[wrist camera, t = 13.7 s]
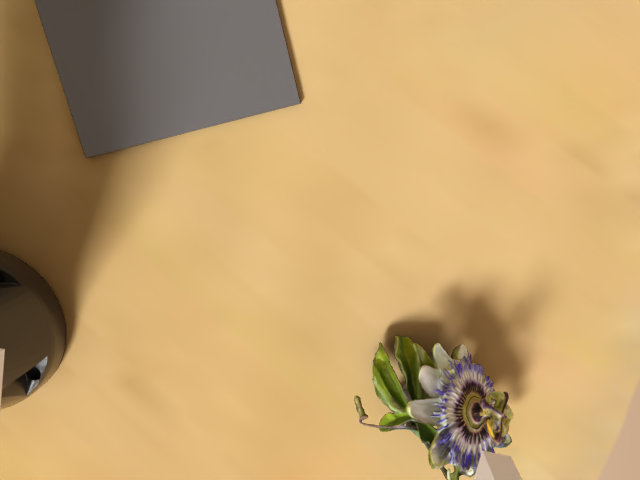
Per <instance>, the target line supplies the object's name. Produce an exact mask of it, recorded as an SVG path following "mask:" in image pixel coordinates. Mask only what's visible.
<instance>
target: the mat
mask: <svg viewBox="0 0 640 480" xmlns="http://www.w3.org/2000/svg"><path fill="white" fill-rule="evenodd" d="M35 3H36V6H37V9H38V12H39V15H40V18H41V21H42V25H43V28H44V31H45V34H46V37H47V40H48V43H49V46H50V49H51V52H52V55H53V58H54V61H55V64H56V68H57V71H58V74H59V77H60V80H61V83H62V86H63V89H64V92H65V95H66V98H67V101H68V104H69V107H70V111H71V114H72V117H73V120H74V123H75V126H76V129H77V132H78V135H79V138H80V141H81V144H82V147H83V150H84V154H85V157H86V158H89V157H93V156H97V155H101V154H105V153H109V152H113V151H117V150H121V149H125V148H128V147H132V146H136V145H140V144H144V143H148V142H152V141H156V140H160V139H164V138H168V137H172V136H175V135H179V134H183V133H187V132H191V131H195V130H199V129H203V128H207V127H211V126H215V125H218V124H222V123H226V122H230V121H234V120H238V119H242V118H246V117H250V116H254V115H258V114H262V113H265V112H269V111H273V110H277V109H281V108H285V107H289V106H293V105H297V104H301V102H300V98H299V94H298V90H297V86H296V82H295V77H294V73H293V69H292V65H291V61H290V57H289V53H288V49H287V44H286V40H285V36H284V32H283V28H282V24H281V20H280V16H279V11H278V7H277V3H276V0H35Z"/></svg>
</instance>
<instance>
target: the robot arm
mask: <svg viewBox="0 0 640 480" xmlns="http://www.w3.org/2000/svg"><path fill="white" fill-rule="evenodd" d="M65 342H66V328H65V321H64V317H63V313H62V310H61V307H60V305H59V302H58V300H57V298H56V296H55V295H54V293H53V291H52V290H51V288H50V287H49V285H48V284H47V283H46V282H45V280H44V279H43V278H42V277H41V276H40V275H39V274H38V273H37V272H36V271H35V270H34V269H32V268H31V267H30V266H29V265H27V264H26V263H24V262H23V261H21V260H19V259H18V258H16V257H14V256H12V255H10V254H7V253H5V252H2V251H0V410H1V409H4V408H7V407H10V406H12V405H15V404H17V403H19V402H21V401H22V400H24V399H26V398H27V397H29V396H30V395H31V394H33V393H34V392H35V391H36V390H38V389H39V388H40V387H41V386H42V385H44V384H45V383H46V382H47V381H48V380H49V379H50V378H51V377H52V375H53V374H54V373H55V371H56V370H57V368H58V366H59V364H60V362H61V359H62V356H63V353H64V349H65ZM474 480H522V478H521V476H520V474H519V472H518V470H517V468H516V466H515V464H514V462H513V460H512V458H511V456H506V455H502V454H497V453H492V452H488V451H483V450H482V454H481V457H480V460H479V464H478V467H477V470H476V474H475V477H474Z"/></svg>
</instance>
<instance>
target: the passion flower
mask: <svg viewBox="0 0 640 480" xmlns="http://www.w3.org/2000/svg"><path fill="white" fill-rule="evenodd" d="M394 355H395V358H396V360H397V361H398V364H399V367H400V370H401V372H402V374H403V375H404V376H405V378H406V387H405V389H404V390H403V387H402V386H401V383H400V381H399V380H398V378H397V375H396V374H395V371H394V370H393V367H392V366H391V364H390V361H389V356H388V354H387V353H386V351H385V349H384V347H383V345H382V343H381V342H380V343H379V349H378V351H377V352H376V354H375V358H374V360H373V383H374V387H375V391H376V394H377V396H378V397H379V399H380V400H381V401H382V402H383V403H384V404H385V405H386V406H388V408H389V409H390V410H391V411H392V412H394V413H388V414H385V415H384V416H383V418H382V419H381V420H380V423H379V426H378V425H373V424H365V423H362V420H364V419H366V418H368V415H366V414H365V412H364V409H363V408H362V404H361V400H360V397H359V396H355V398H354V401H355V404H356V409H357V412H358V413H359V422H360V423H361V424H362V425H364V426H371V427H376V428H379V429H380V431H382V432H388V431H391V430H395V429H408V430H411V431H412V432H413V433H414V434H415V435H417V436H418V437H419V438H420V439H421V441H422V443H424V444H425V445H426V448H427V449H428V450H429V463H430V465H431V467H432V469H434V468H436V469H439V468H440V469H441V470H442V472H443V474H444V476H445V478H446V479H447V480H459V476H460V475H466V476H468V477H471V476H473V475H475V474H476V470H477V467H478V464H479V460H480V457H481V454H482V450H483V451H488V452H492V453H495V452H494V449H493V448H494V447H498V448H503V447H507V446H508V445H509V444H510V443H511V442H512V439H511V437H510V435H509V434H508V431H509V422H510V420H511V419H512V418H513V412H512V410H511V409H510V407H509V405H507V401H508V398H509V397H508V393H507V392H500V391H495V390H494V389H493V388H492V386H493V382H492V381H491V380H490V379H489V378H490V377H489V376H488V377H486V376H485V374H484V373H483V372H484V368H482V367H481V365H480V364H479V365H476V364H475V363H472V364H471V354H470V360H469V355H468V351H467V349H466V347H465V345H464V344H462V345H459V346H457V347H456V348H455V349H454V350H453V352H452V355H451V357H450V356H448V353H447V352H446V351H445V350H444V349H443V347H442V346H441V345H440V343H436V344H434V346H433V348H432V350H431V353H430V356H428V354H427V353H426V351H425V350H424V349H423V347H422V346H420V345H418V344H417V343H413V342H412V341H411V339H410V338H408V337H399V336H395V343H394ZM404 424H405V425H406V426H404ZM433 426H437V427H438V429H436V428H434V427H433ZM449 463H451V464H452V465H453V466H454V472H453V473H451V474H450V469H448V471H447V470H446V469H445V468H444V465H446V464H449Z"/></svg>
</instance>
